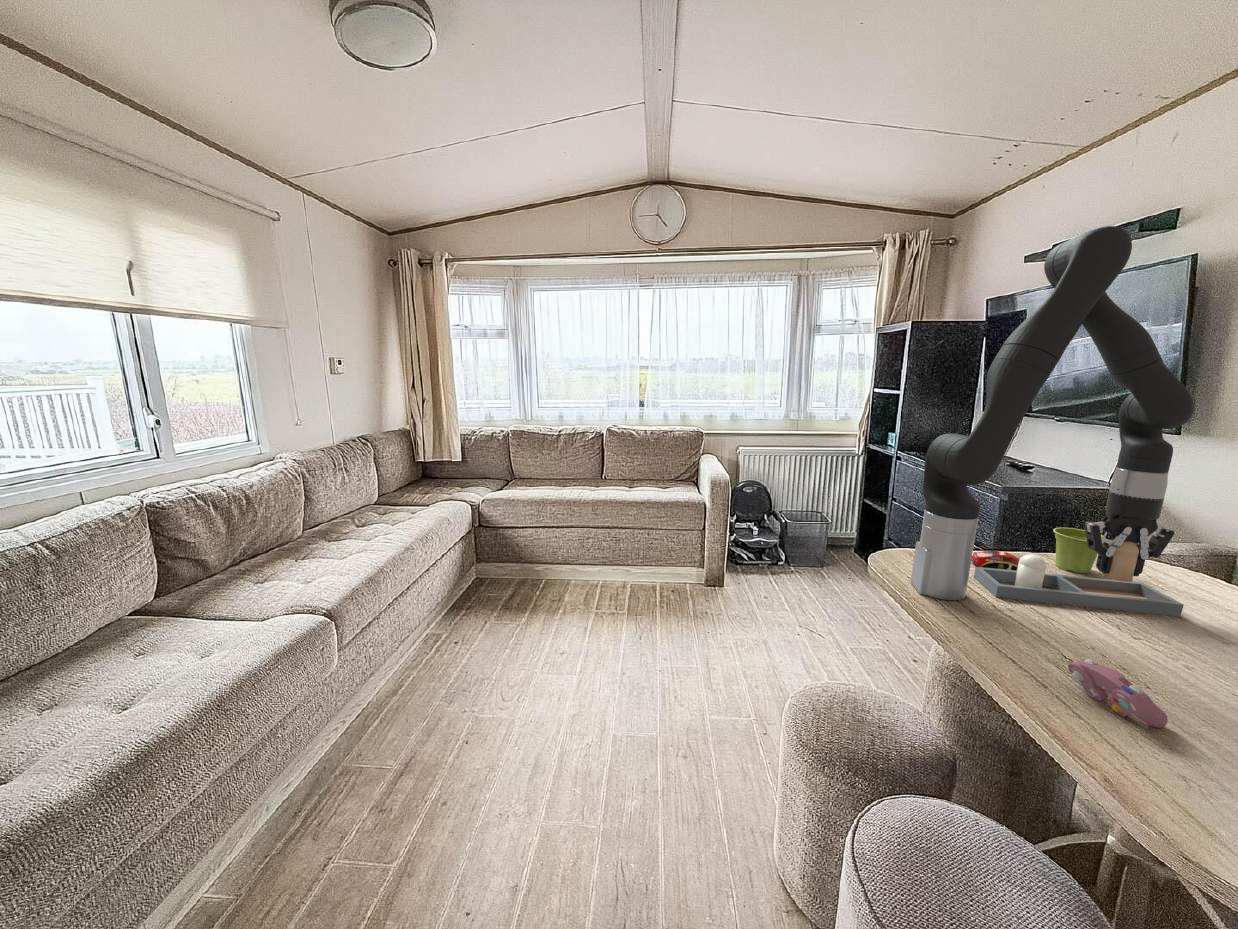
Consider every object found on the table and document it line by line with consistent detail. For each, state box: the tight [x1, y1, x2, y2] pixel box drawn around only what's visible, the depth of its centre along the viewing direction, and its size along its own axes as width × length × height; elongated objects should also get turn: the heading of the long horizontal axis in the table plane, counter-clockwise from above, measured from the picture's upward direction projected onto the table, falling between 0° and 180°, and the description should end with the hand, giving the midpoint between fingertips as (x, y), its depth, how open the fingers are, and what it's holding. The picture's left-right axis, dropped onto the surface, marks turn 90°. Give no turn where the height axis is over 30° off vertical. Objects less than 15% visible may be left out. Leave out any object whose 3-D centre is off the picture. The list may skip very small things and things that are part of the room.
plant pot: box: [1052, 527, 1104, 574], centre depth 115 cm, size 9×9×9 cm
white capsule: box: [1013, 553, 1047, 589], centre depth 103 cm, size 4×4×8 cm
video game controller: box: [1067, 658, 1169, 729], centre depth 68 cm, size 10×5×7 cm, turn 5°
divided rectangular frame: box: [973, 566, 1184, 618], centre depth 102 cm, size 31×10×2 cm, turn 76°
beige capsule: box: [1101, 539, 1139, 582], centre depth 99 cm, size 4×4×8 cm
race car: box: [971, 550, 1021, 571], centre depth 116 cm, size 13×5×4 cm, turn 67°
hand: (1117, 573), depth 99 cm, fingers closed on beige capsule, 4 cm apart
